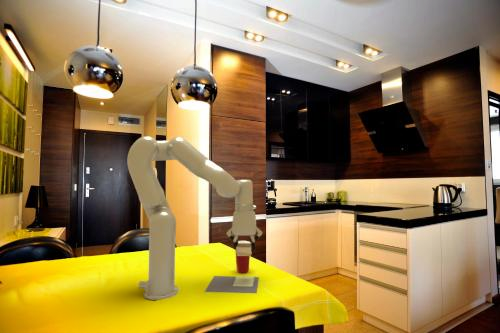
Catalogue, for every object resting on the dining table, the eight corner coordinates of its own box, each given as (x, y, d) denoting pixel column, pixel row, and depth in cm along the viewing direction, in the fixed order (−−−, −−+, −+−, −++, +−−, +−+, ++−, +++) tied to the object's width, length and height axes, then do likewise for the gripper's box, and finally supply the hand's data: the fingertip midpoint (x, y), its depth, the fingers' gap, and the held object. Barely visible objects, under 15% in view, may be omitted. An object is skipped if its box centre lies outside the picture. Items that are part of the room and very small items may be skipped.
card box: (238, 250, 120) (238, 242, 121) (252, 250, 120) (252, 242, 120) (236, 255, 111) (236, 246, 112) (250, 256, 111) (250, 247, 111)
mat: (204, 292, 104) (204, 291, 104) (214, 276, 122) (214, 275, 122) (256, 294, 102) (256, 292, 102) (258, 277, 120) (258, 276, 120)
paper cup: (254, 272, 128) (254, 242, 129) (242, 276, 122) (242, 244, 123) (242, 268, 133) (242, 239, 134) (230, 272, 128) (231, 242, 129)
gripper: (264, 207, 120) (265, 249, 119) (225, 207, 121) (225, 249, 120) (263, 209, 112) (264, 253, 111) (222, 209, 114) (222, 253, 113)
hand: (244, 250), depth 116 cm, fingers closed on card box, 6 cm apart
